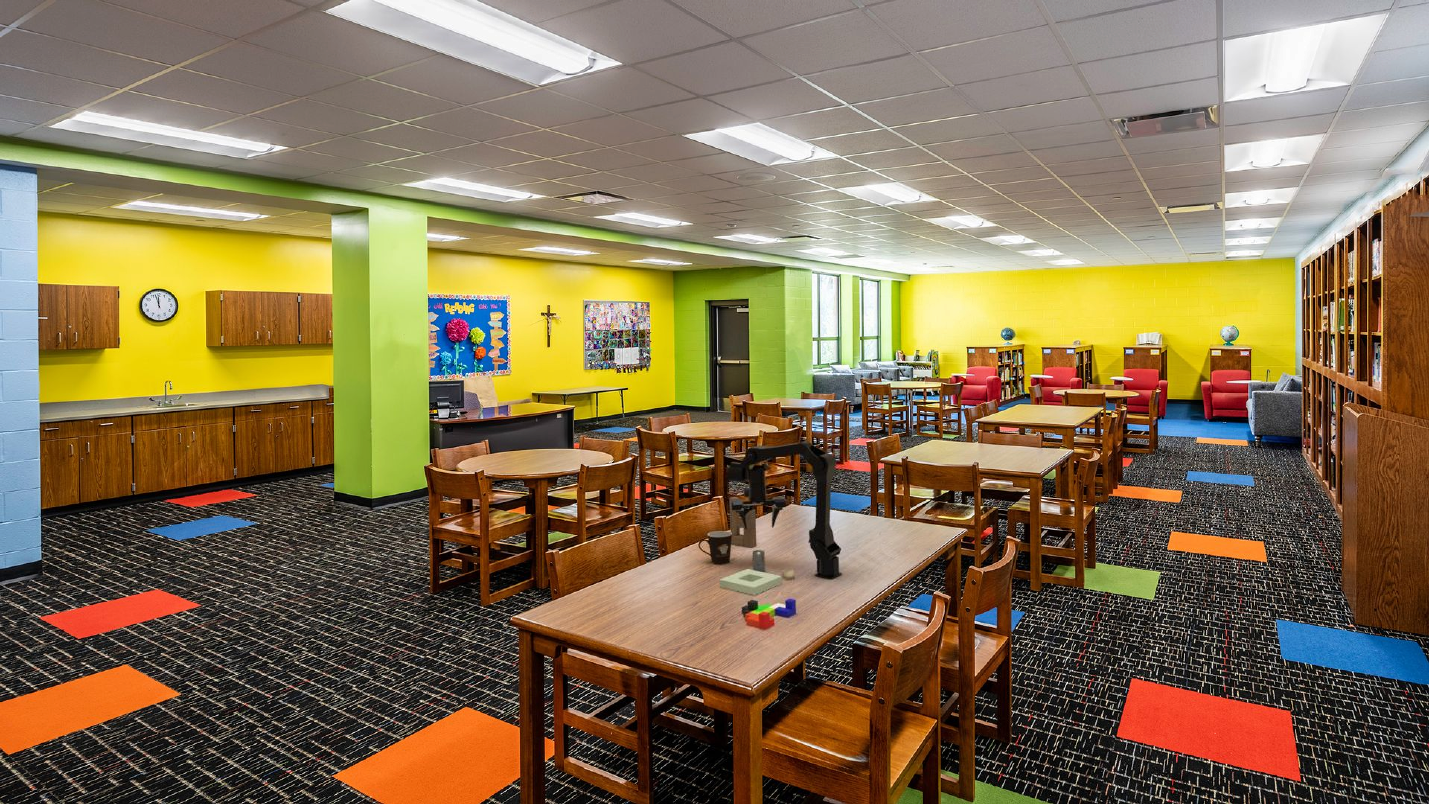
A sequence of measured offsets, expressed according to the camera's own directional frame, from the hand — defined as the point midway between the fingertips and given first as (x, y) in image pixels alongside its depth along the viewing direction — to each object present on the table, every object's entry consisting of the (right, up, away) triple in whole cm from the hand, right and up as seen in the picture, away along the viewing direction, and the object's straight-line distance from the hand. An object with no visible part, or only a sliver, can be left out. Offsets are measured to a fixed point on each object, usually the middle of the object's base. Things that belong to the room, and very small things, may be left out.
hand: (759, 528), depth 268 cm
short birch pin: (+9, -14, -14) cm, 22 cm away
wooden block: (-5, -12, +30) cm, 32 cm away
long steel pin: (0, -14, -6) cm, 15 cm away
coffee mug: (-15, -14, +8) cm, 22 cm away
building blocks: (-2, -18, -48) cm, 52 cm away
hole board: (-4, -15, -20) cm, 25 cm away
